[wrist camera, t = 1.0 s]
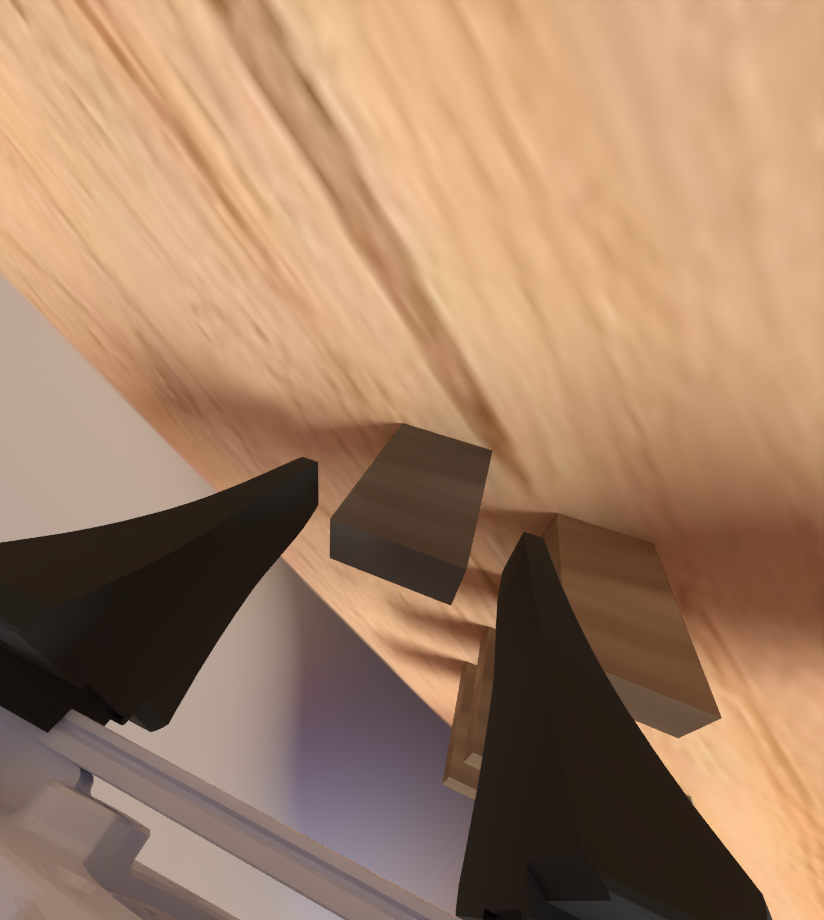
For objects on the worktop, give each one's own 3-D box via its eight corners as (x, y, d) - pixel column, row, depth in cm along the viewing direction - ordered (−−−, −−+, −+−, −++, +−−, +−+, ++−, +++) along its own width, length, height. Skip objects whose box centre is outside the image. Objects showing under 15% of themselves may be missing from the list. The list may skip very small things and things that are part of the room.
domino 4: (556, 502, 15) (567, 656, 9) (649, 532, 14) (721, 717, 9) (540, 528, 16) (542, 682, 10) (626, 557, 15) (677, 737, 10)
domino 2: (469, 651, 24) (449, 777, 18) (524, 674, 23) (520, 811, 17) (463, 662, 25) (442, 783, 19) (515, 684, 24) (509, 817, 18)
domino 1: (408, 416, 15) (330, 518, 9) (494, 442, 14) (466, 569, 9) (402, 448, 16) (329, 557, 10) (482, 473, 15) (450, 605, 10)
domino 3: (490, 615, 21) (473, 752, 15) (554, 640, 20) (560, 793, 14) (482, 629, 22) (463, 762, 16) (542, 653, 21) (544, 800, 15)
